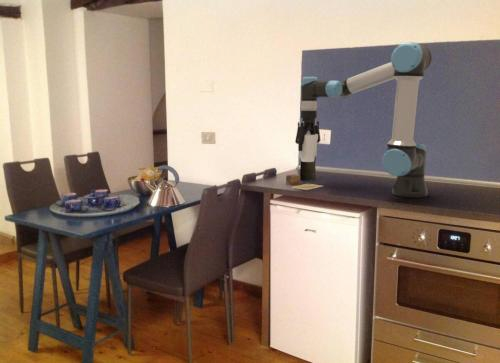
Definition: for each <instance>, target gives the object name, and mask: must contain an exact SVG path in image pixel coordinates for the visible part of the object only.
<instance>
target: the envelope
mask: <svg viewBox="0 0 500 363" xmlns="http://www.w3.org/2000/svg"><path fill="white" fill-rule="evenodd" d="M321 187H324V185H319V184H314V183H313V184H312V183H304V184H303V183H302V184H300V185H294V186H290V188H291V189H292V188H293V189H298V190H303V191H304V190H305V191H309V190H312V189H317V188H321Z"/></svg>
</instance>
